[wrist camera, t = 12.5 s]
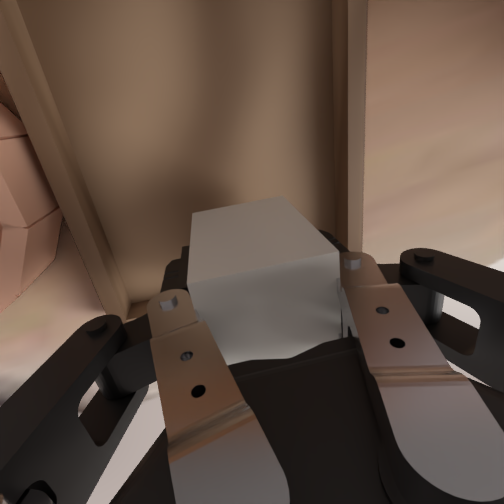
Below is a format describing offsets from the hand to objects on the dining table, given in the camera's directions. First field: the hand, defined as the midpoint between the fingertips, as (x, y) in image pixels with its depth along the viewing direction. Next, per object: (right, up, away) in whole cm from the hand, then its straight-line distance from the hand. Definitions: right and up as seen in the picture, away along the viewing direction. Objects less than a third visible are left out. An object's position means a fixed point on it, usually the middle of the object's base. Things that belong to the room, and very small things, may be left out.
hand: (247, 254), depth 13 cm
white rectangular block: (0, 0, +1) cm, 1 cm away
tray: (-2, +5, +2) cm, 5 cm away
